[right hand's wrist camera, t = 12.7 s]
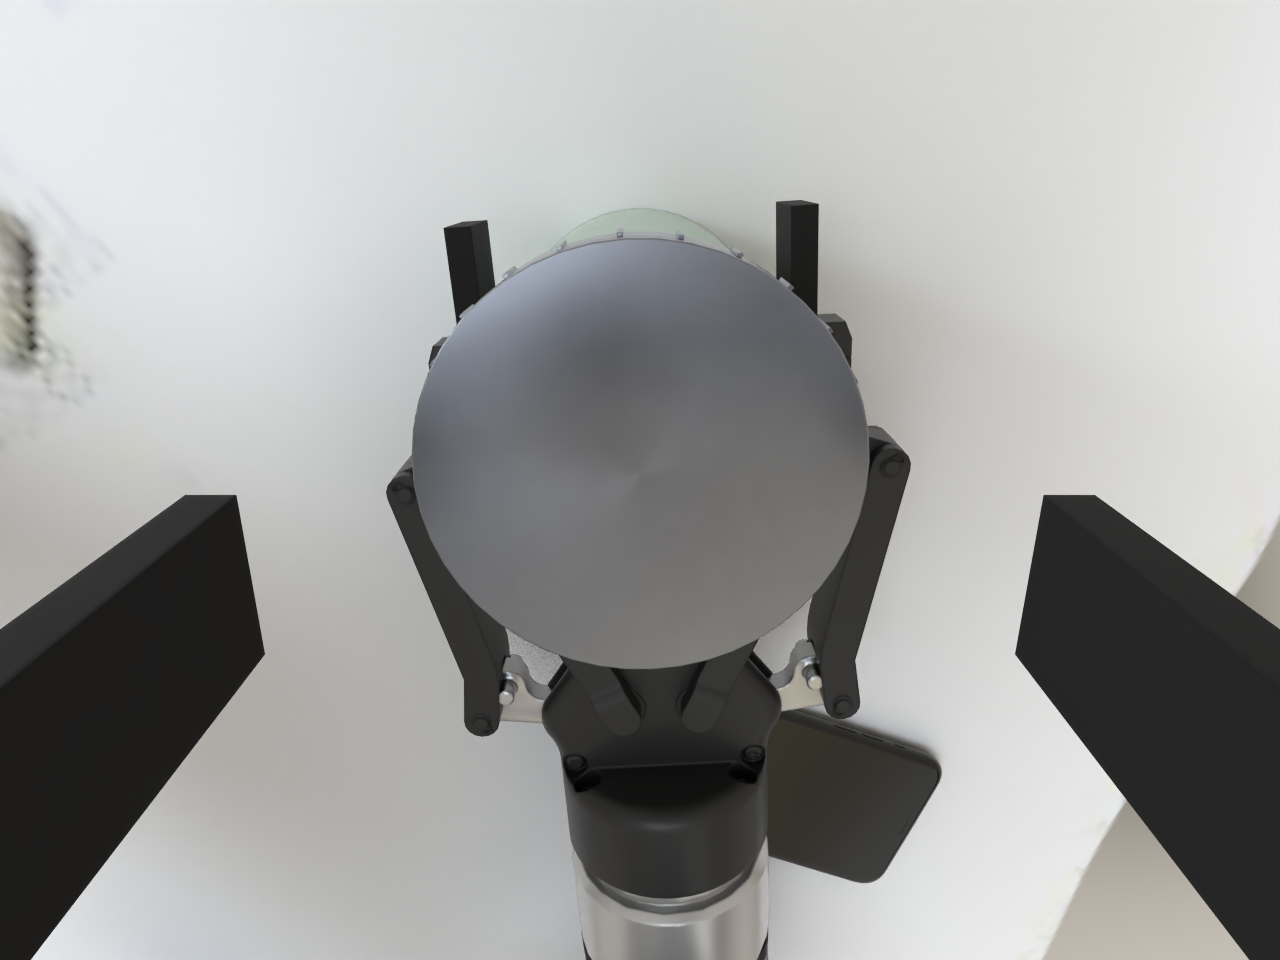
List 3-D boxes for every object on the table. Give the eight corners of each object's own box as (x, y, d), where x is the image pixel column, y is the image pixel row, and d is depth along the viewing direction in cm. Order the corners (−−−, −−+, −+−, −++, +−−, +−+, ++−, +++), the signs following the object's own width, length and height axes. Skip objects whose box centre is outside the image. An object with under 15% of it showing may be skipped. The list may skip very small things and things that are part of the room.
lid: (937, 469, 19) (964, 496, 17) (621, 702, 21) (620, 745, 20) (666, 124, 16) (668, 120, 15) (339, 429, 19) (311, 453, 17)
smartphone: (564, 784, 40) (871, 877, 42) (562, 798, 39) (876, 892, 41) (621, 648, 37) (946, 753, 39) (620, 659, 36) (953, 766, 38)
